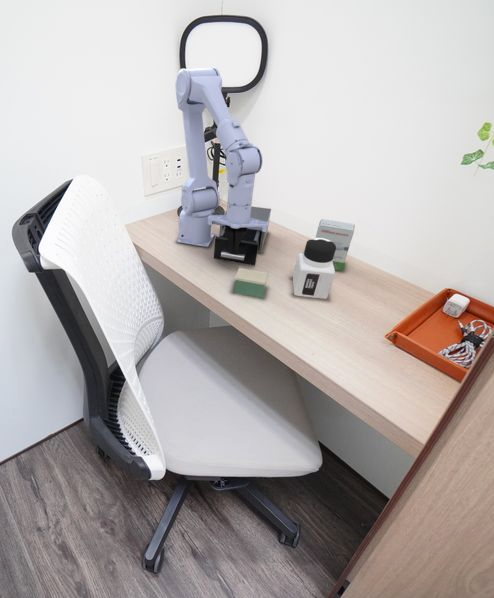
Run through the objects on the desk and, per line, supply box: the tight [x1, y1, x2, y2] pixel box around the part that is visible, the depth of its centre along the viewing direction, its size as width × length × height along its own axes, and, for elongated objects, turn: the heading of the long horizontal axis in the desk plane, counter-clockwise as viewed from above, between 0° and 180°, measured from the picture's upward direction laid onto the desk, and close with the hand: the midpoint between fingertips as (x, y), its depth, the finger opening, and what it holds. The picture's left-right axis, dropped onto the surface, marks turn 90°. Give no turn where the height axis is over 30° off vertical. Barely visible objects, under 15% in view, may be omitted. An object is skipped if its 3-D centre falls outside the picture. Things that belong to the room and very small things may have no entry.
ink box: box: [315, 218, 355, 272], centre depth 96 cm, size 9×5×12 cm, turn 66°
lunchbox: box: [233, 267, 269, 299], centre depth 87 cm, size 7×4×4 cm, turn 72°
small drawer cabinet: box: [218, 205, 272, 254], centre depth 108 cm, size 14×13×8 cm
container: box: [292, 237, 336, 300], centre depth 86 cm, size 8×8×13 cm
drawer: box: [213, 226, 261, 267], centre depth 99 cm, size 17×11×6 cm
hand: (234, 253), depth 93 cm, fingers closed, pressing on drawer
